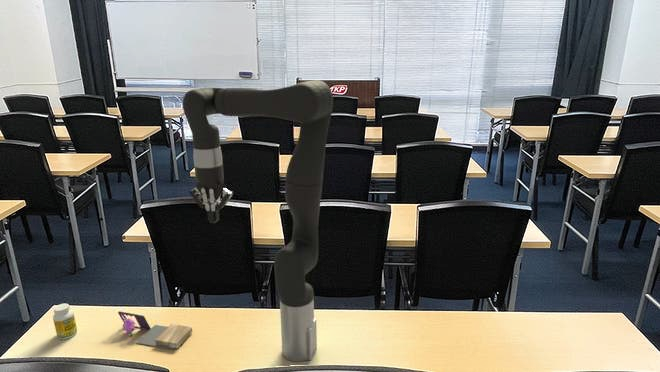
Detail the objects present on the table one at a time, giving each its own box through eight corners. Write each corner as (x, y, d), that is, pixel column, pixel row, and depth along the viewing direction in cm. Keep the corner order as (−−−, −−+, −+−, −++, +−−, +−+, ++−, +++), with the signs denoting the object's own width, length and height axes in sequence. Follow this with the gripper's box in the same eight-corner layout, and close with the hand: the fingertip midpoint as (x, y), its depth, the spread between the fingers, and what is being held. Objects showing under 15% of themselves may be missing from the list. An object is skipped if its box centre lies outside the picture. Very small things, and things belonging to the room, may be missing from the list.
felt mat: (189, 331, 137) (189, 330, 137) (172, 350, 129) (172, 349, 129) (155, 325, 140) (155, 324, 140) (136, 343, 132) (136, 342, 132)
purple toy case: (145, 313, 135) (119, 309, 137) (135, 328, 131) (109, 323, 133) (152, 327, 139) (127, 322, 141) (143, 342, 135) (117, 337, 137)
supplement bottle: (68, 327, 139) (62, 300, 136) (81, 330, 138) (76, 303, 135) (52, 338, 134) (46, 310, 131) (67, 341, 133) (60, 313, 130)
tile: (191, 327, 136) (171, 323, 137) (176, 343, 128) (155, 339, 130) (192, 332, 136) (172, 328, 138) (177, 348, 129) (156, 344, 131)
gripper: (236, 161, 125) (241, 219, 130) (194, 158, 128) (199, 215, 133) (224, 168, 118) (229, 229, 123) (179, 165, 121) (186, 224, 126)
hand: (213, 222), depth 128 cm, fingers closed
